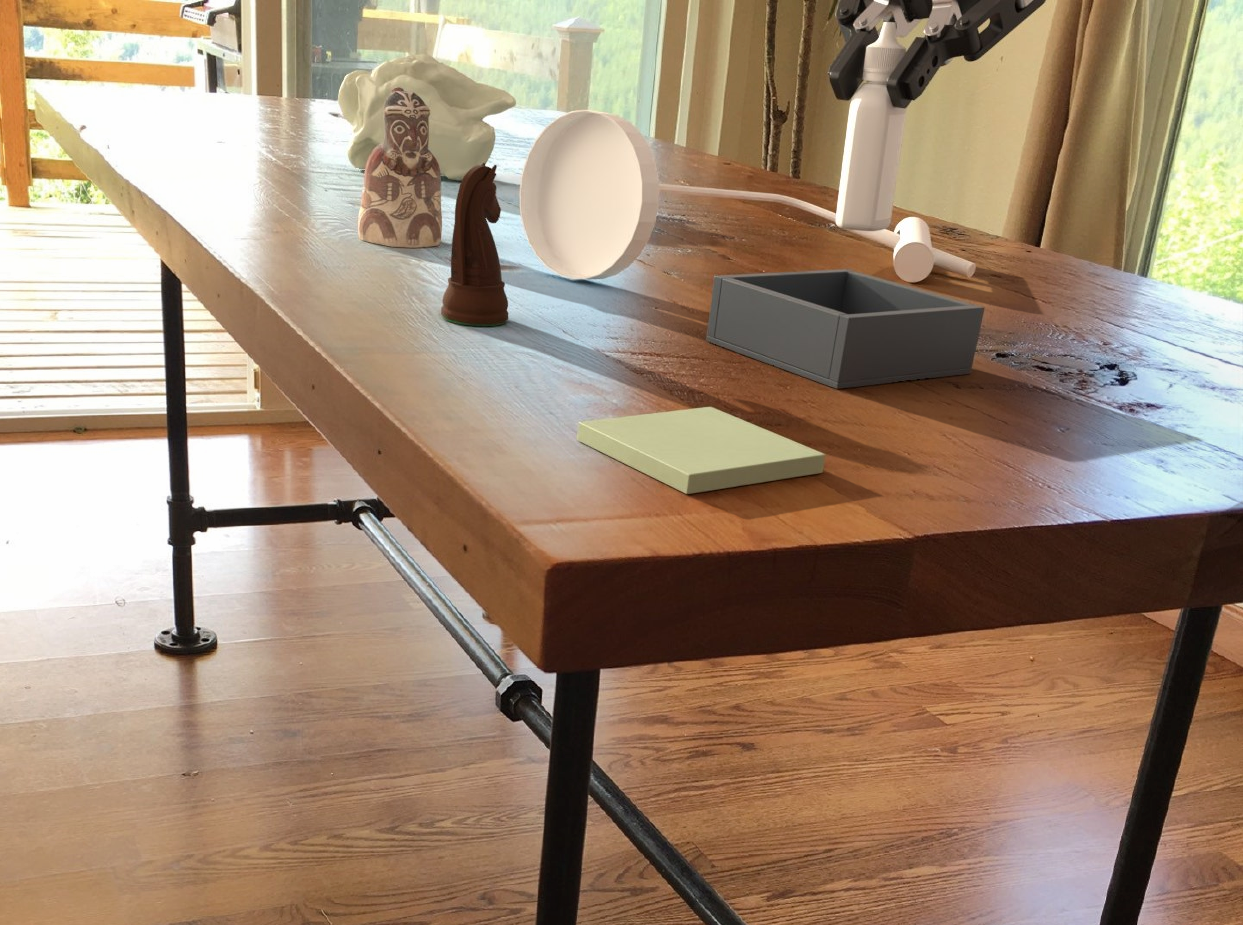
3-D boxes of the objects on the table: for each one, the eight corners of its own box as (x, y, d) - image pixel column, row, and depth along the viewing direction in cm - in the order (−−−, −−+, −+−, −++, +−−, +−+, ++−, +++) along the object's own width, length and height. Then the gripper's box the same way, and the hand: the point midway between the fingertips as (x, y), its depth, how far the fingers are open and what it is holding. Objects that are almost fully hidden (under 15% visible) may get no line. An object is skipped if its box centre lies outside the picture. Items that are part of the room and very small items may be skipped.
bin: (970, 373, 95) (985, 307, 93) (836, 389, 88) (849, 317, 86) (836, 330, 104) (847, 268, 102) (705, 341, 97) (714, 275, 95)
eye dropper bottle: (916, 228, 92) (946, 25, 87) (862, 233, 89) (890, 22, 84) (862, 219, 95) (889, 22, 90) (808, 223, 92) (832, 19, 87)
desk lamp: (771, 178, 98) (1036, 205, 131) (541, 90, 110) (838, 135, 142) (717, 350, 104) (984, 334, 137) (504, 249, 115) (798, 257, 148)
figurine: (361, 245, 118) (364, 90, 113) (354, 230, 124) (357, 82, 119) (446, 249, 120) (453, 96, 114) (435, 234, 126) (441, 88, 121)
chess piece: (520, 319, 98) (531, 167, 93) (481, 331, 94) (490, 172, 89) (464, 308, 100) (472, 158, 95) (423, 318, 96) (429, 162, 91)
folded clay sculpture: (458, 233, 167) (522, 111, 165) (453, 220, 155) (522, 87, 152) (322, 154, 165) (384, 30, 163) (305, 134, 152) (372, -1, 150)
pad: (823, 473, 72) (826, 454, 71) (686, 494, 67) (689, 474, 67) (708, 423, 78) (710, 406, 78) (576, 440, 73) (578, 421, 73)
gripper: (896, -166, 91) (753, 35, 88) (1103, -167, 82) (952, 56, 80) (925, -66, 97) (792, 126, 94) (1121, -57, 88) (981, 154, 86)
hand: (866, 92), depth 87 cm, fingers closed on eye dropper bottle, 3 cm apart
